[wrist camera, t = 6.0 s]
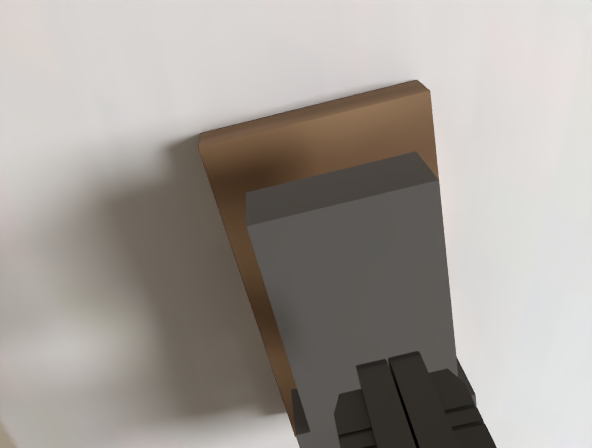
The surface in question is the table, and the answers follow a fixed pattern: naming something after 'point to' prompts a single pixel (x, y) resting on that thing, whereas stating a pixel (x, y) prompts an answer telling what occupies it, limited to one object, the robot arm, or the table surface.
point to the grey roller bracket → (353, 279)
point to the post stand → (307, 172)
